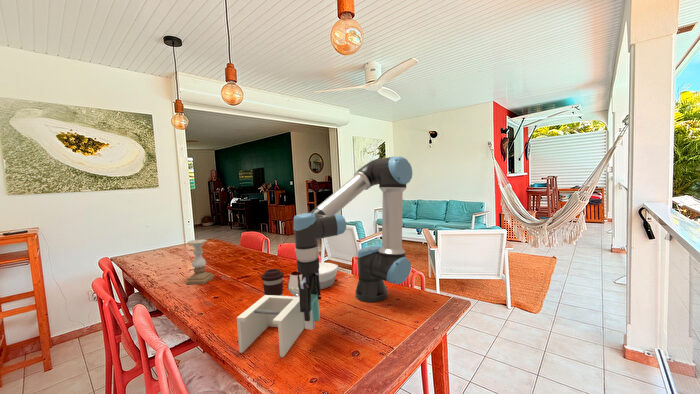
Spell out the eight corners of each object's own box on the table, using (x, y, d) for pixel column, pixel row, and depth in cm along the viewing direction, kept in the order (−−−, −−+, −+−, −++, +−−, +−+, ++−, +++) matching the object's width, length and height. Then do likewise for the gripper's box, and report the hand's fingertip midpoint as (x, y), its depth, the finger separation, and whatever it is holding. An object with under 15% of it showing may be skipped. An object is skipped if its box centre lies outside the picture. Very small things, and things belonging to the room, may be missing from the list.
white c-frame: (304, 327, 106) (303, 297, 105) (283, 357, 89) (281, 320, 88) (267, 324, 110) (265, 294, 109) (239, 352, 92) (236, 317, 91)
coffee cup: (279, 307, 124) (277, 274, 123) (259, 306, 126) (257, 274, 125) (288, 298, 134) (286, 267, 133) (269, 297, 136) (267, 267, 135)
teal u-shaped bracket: (319, 319, 100) (317, 294, 99) (313, 329, 94) (311, 302, 93) (313, 318, 100) (311, 294, 100) (306, 328, 94) (304, 302, 93)
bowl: (344, 281, 152) (343, 264, 152) (324, 293, 137) (323, 275, 137) (318, 276, 162) (317, 260, 161) (297, 287, 147) (296, 270, 146)
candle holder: (204, 284, 158) (201, 242, 156) (185, 285, 158) (182, 243, 157) (214, 277, 169) (211, 238, 167) (196, 278, 169) (193, 239, 168)
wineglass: (300, 321, 111) (297, 277, 109) (285, 317, 115) (282, 274, 114) (313, 313, 117) (311, 271, 116) (299, 309, 122) (296, 268, 121)
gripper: (307, 250, 105) (312, 309, 107) (285, 268, 87) (291, 338, 88) (326, 250, 104) (331, 310, 106) (307, 268, 85) (313, 340, 87)
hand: (312, 322), depth 97 cm, fingers closed on teal u-shaped bracket, 6 cm apart
